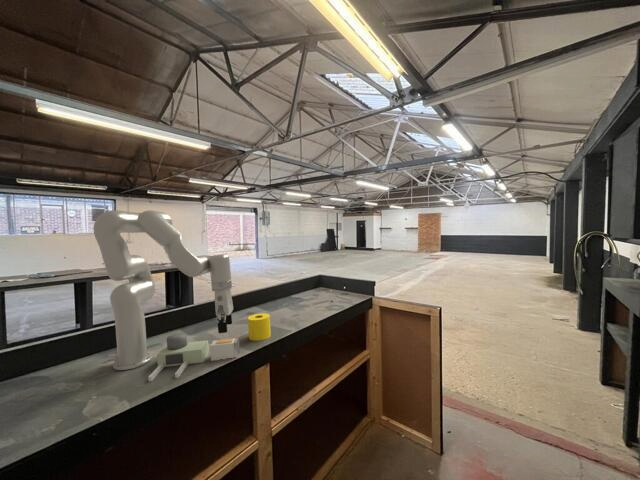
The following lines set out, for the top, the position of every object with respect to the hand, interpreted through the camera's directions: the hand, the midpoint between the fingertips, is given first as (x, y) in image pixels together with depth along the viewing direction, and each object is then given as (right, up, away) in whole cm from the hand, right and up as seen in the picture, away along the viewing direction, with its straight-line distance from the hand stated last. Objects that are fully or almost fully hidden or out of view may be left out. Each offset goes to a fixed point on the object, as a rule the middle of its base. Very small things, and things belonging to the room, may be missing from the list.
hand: (225, 328), depth 107 cm
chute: (0, -11, 0) cm, 11 cm away
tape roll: (+9, -11, +20) cm, 24 cm away
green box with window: (-15, -12, -5) cm, 20 cm away
